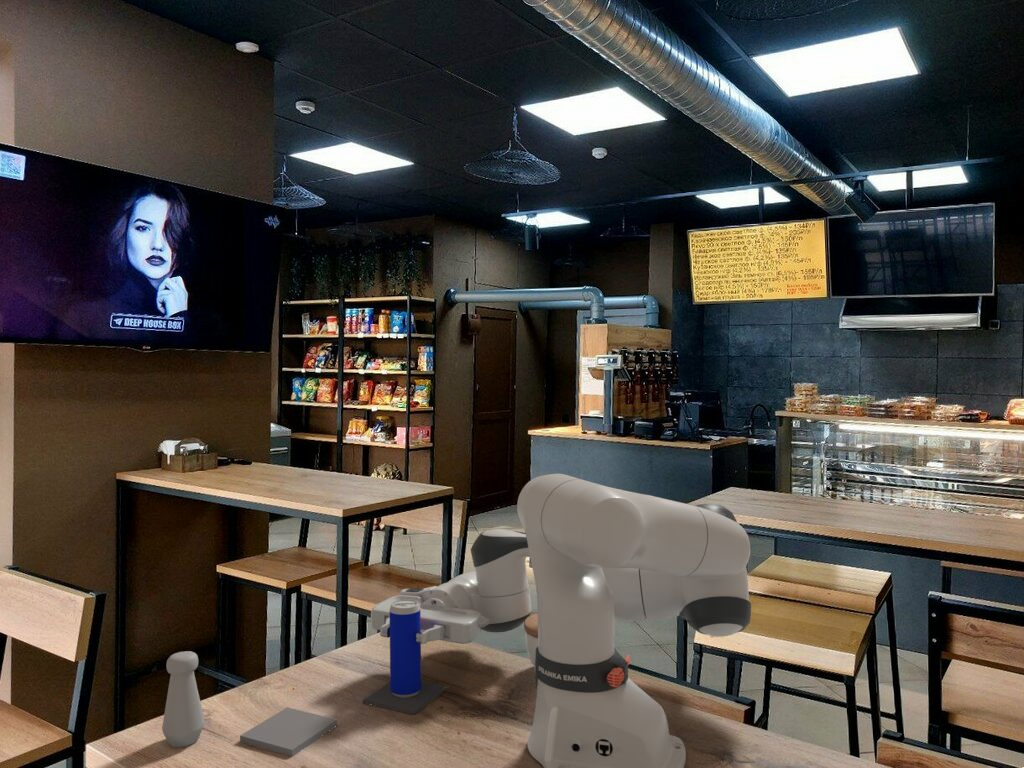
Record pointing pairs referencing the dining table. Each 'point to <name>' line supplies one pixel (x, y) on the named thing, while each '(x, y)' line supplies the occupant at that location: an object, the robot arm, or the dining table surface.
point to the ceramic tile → (288, 731)
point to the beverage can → (405, 648)
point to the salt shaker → (182, 701)
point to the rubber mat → (409, 704)
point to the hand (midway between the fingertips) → (401, 635)
